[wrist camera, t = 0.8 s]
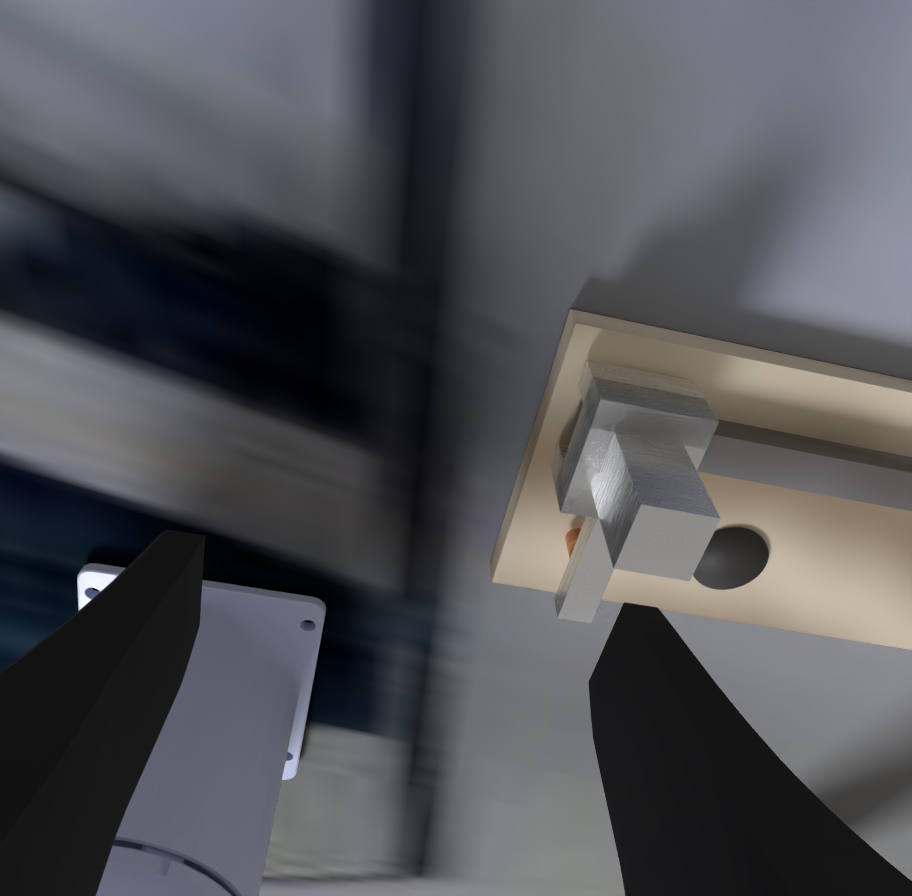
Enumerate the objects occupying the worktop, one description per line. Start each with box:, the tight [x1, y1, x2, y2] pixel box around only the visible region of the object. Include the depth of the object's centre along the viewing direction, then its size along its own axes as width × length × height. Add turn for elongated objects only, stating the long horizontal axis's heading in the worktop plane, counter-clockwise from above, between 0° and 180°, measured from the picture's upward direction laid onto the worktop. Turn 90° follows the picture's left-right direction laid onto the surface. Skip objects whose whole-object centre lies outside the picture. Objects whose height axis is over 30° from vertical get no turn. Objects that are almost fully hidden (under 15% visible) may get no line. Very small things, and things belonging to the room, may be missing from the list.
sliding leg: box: [550, 360, 721, 623], centre depth 20 cm, size 7×3×5 cm, turn 167°
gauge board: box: [490, 309, 912, 650], centre depth 23 cm, size 9×20×2 cm, turn 77°
